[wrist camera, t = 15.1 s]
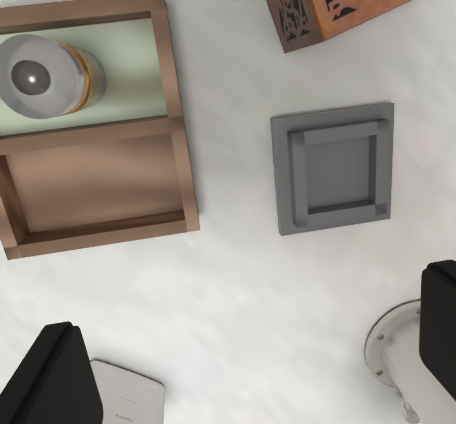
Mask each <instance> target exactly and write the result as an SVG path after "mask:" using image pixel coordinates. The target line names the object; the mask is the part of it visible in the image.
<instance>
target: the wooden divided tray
mask: <svg viewBox="0 0 456 424" xmlns="http://www.w3.org/2000/svg"><path fill="white" fill-rule="evenodd" d="M19 34H33V35H38V36H41V37H46V38H50V39H53V40H57V41H60V42H63V43H66V44H69V45H72V46H74V47H76V48H80V49H83V50H85V51H87V52H89V53H90V54H92V55H93V56H94V57H95V58H96V59H97V60H98V61H99V63H100V64H101V66H102V68H103V70H104V73H105V77H106V88H105V92H104V94H103V97H102V98H101V100H100V101H99V102H98V103H97V104H96V105H94V106H92V107H90V108H88V109H84V110H81V111H78V112H75V113H71V114H67V115H63V116H59V117H52V118H48V119H32V118H28V117H25V116H23V115H20V114H18V113H17V112H15V111H14V110H12V109H11V108H10V107H8V106H7V105H6V104H5V103H4V102H3V100H2V99H1V98H0V240H1V242H2V245H3V248H4V251H5V254H6V256H7V259H8V260H11V259H17V258H24V257H30V256H36V255H43V254H49V253H56V252H62V251H69V250H75V249H81V248H88V247H94V246H101V245H107V244H114V243H120V242H126V241H133V240H139V239H146V238H152V237H159V236H165V235H171V234H178V233H184V232H191V231H197V230H200V225H199V218H198V211H197V205H196V198H195V192H194V185H193V179H192V172H191V166H190V159H189V153H188V146H187V140H186V134H185V127H184V121H183V114H182V108H181V101H180V95H179V88H178V82H177V75H176V69H175V62H174V56H173V49H172V43H171V37H170V30H169V24H168V17H167V11H166V4H165V0H73V1H63V2H54V3H44V4H35V5H25V6H16V7H6V8H0V44H1V43H3V42H4V41H5V40H7V39H8V38H10V37H12V36H15V35H19Z"/></svg>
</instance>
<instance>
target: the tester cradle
mask: <svg viewBox="0 0 456 424" xmlns="http://www.w3.org/2000/svg"><path fill="white" fill-rule="evenodd" d="M393 126H394V103H383V104H376V105H368V106H361V107H353V108H346V109H338V110H331V111H323V112H316V113H309V114H301V115H294V116H286V117H279V118H271V132H272V146H273V159H274V172H275V185H276V199H277V212H278V225H279V233H280V234H281V236H284V235H290V234H296V233H303V232H309V231H315V230H321V229H328V228H334V227H340V226H347V225H353V224H359V223H365V222H372V221H378V220H384V219H390V210H391V182H392V154H393Z"/></svg>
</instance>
